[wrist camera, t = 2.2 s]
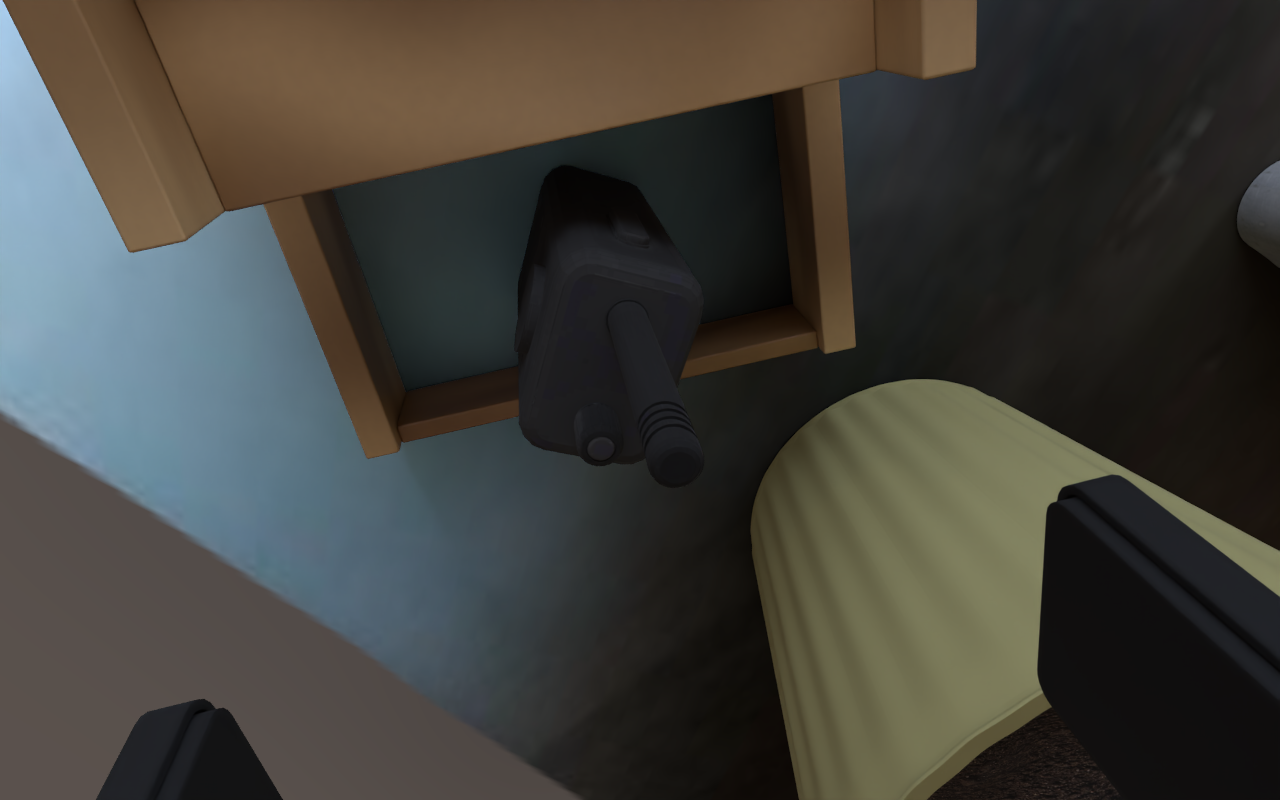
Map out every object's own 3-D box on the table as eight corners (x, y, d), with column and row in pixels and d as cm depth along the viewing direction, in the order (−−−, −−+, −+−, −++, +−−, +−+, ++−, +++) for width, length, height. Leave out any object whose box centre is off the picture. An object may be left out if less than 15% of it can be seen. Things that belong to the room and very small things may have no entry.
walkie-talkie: (608, 324, 26) (705, 666, 13) (505, 300, 25) (494, 640, 12) (651, 178, 24) (817, 403, 11) (541, 147, 23) (576, 350, 10)
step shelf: (157, -170, 19) (-155, -312, 10) (773, -292, 20) (984, -528, 11) (381, 413, 26) (313, 624, 18) (823, 312, 27) (972, 468, 18)
